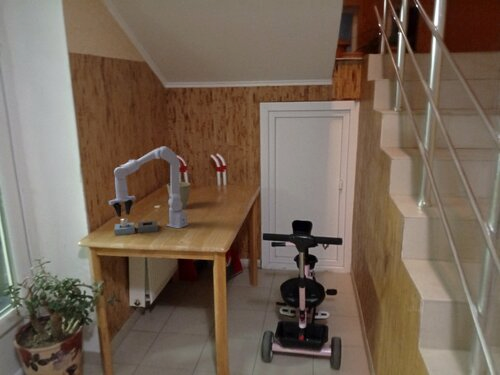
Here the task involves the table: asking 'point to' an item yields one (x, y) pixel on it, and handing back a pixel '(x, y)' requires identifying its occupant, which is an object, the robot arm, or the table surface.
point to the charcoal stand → (147, 226)
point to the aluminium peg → (124, 222)
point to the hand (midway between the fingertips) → (123, 215)
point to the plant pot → (182, 192)
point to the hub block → (124, 229)
